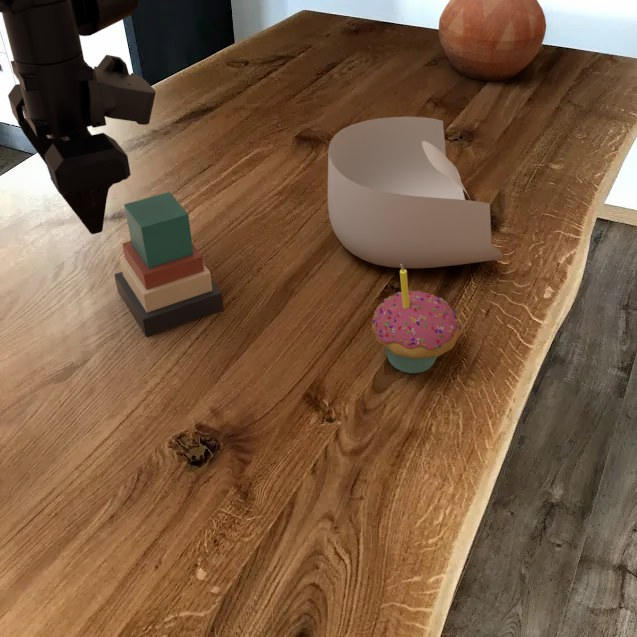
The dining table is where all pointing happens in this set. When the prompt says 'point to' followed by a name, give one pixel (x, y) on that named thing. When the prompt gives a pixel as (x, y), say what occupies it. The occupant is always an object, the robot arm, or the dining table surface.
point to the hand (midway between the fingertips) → (82, 210)
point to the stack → (166, 290)
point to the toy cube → (159, 229)
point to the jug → (491, 36)
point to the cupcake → (414, 328)
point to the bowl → (403, 197)
